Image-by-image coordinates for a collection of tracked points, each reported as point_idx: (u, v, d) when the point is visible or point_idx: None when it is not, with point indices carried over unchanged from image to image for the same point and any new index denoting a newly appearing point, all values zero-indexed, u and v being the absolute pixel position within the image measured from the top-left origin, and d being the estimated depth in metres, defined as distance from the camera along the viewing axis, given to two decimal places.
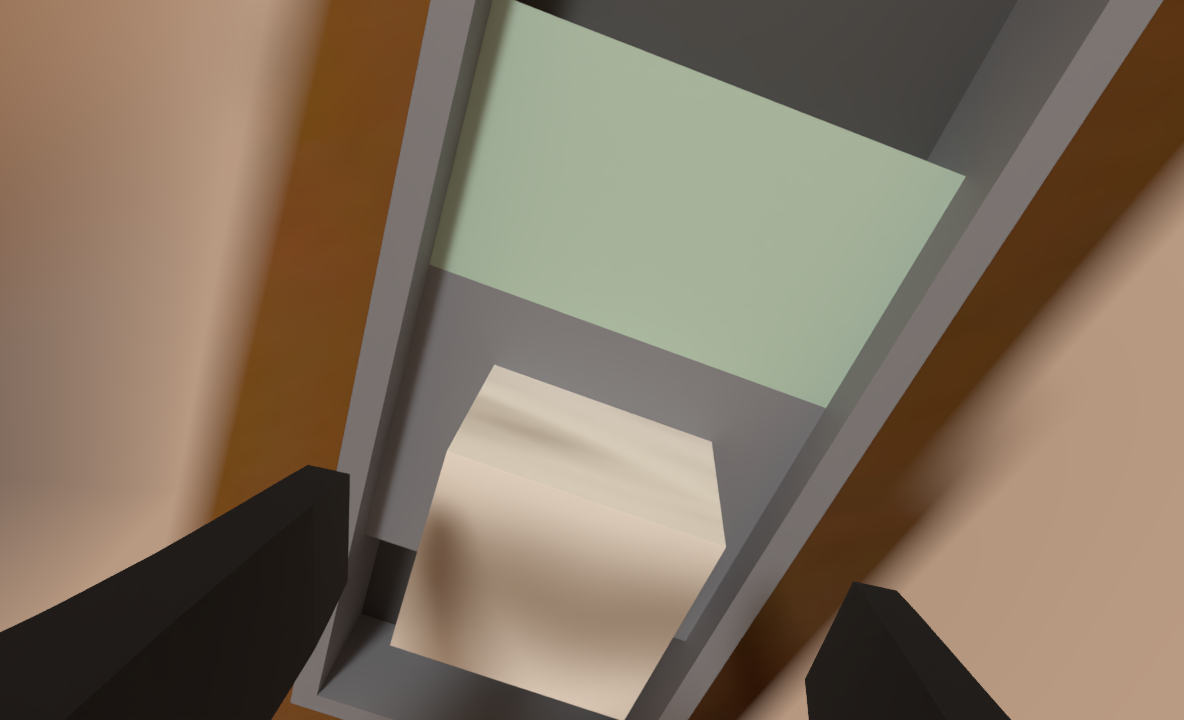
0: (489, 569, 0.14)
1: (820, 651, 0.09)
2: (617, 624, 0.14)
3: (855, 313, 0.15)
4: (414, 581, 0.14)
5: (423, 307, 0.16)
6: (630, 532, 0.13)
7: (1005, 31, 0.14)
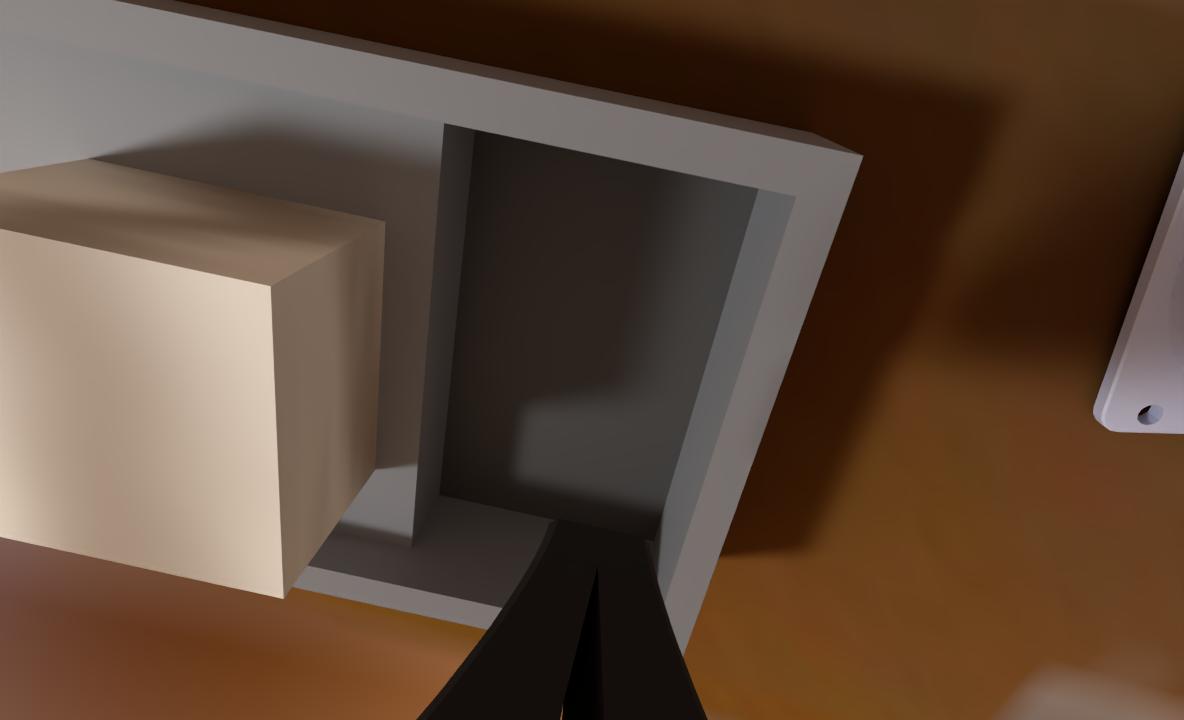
0: (87, 488, 0.11)
1: None
2: (75, 323, 0.09)
3: None
4: (160, 566, 0.11)
5: None
6: None
7: None
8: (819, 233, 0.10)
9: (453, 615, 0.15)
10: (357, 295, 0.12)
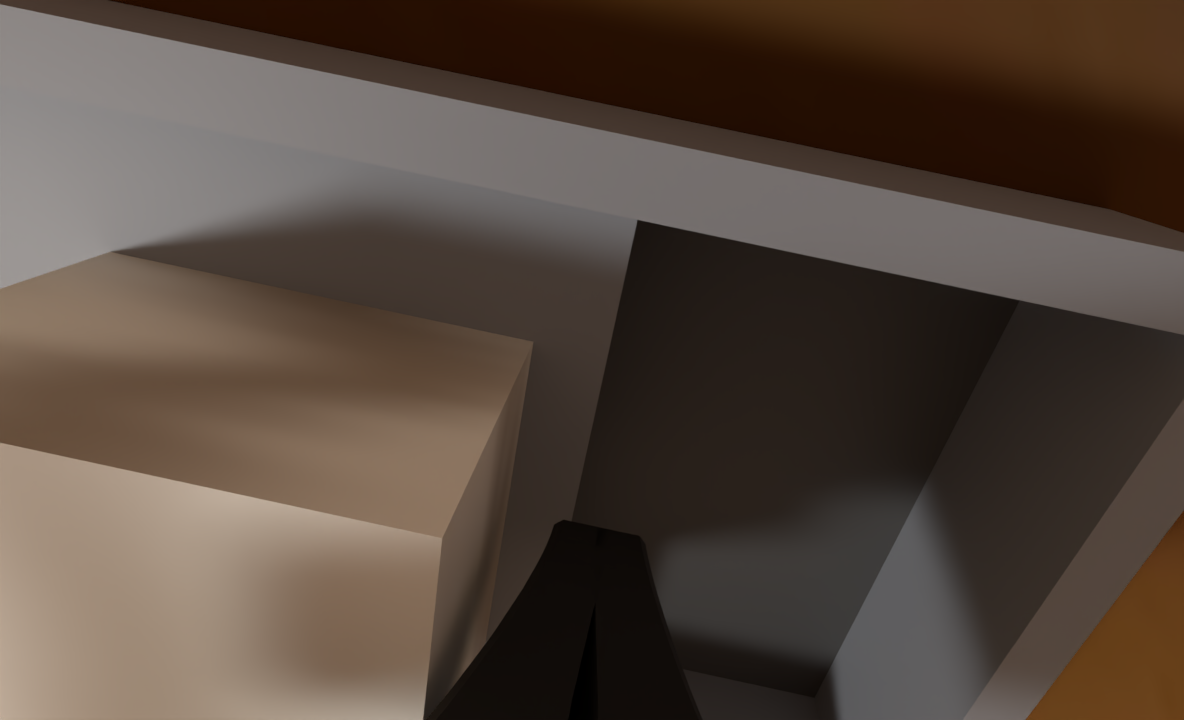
0: None
1: None
2: (103, 574, 0.06)
3: None
4: None
5: None
6: None
7: None
8: None
9: None
10: (503, 457, 0.08)
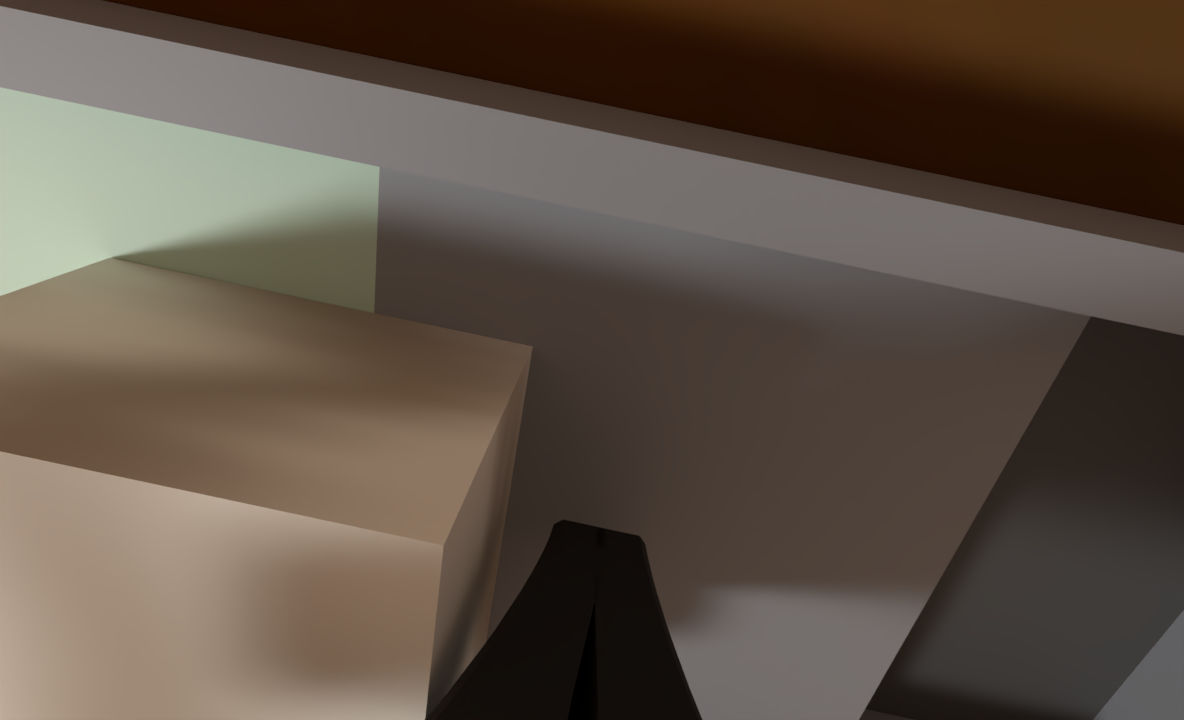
0: None
1: None
2: (105, 581, 0.06)
3: (187, 151, 0.08)
4: None
5: None
6: None
7: None
8: None
9: None
10: (503, 462, 0.08)
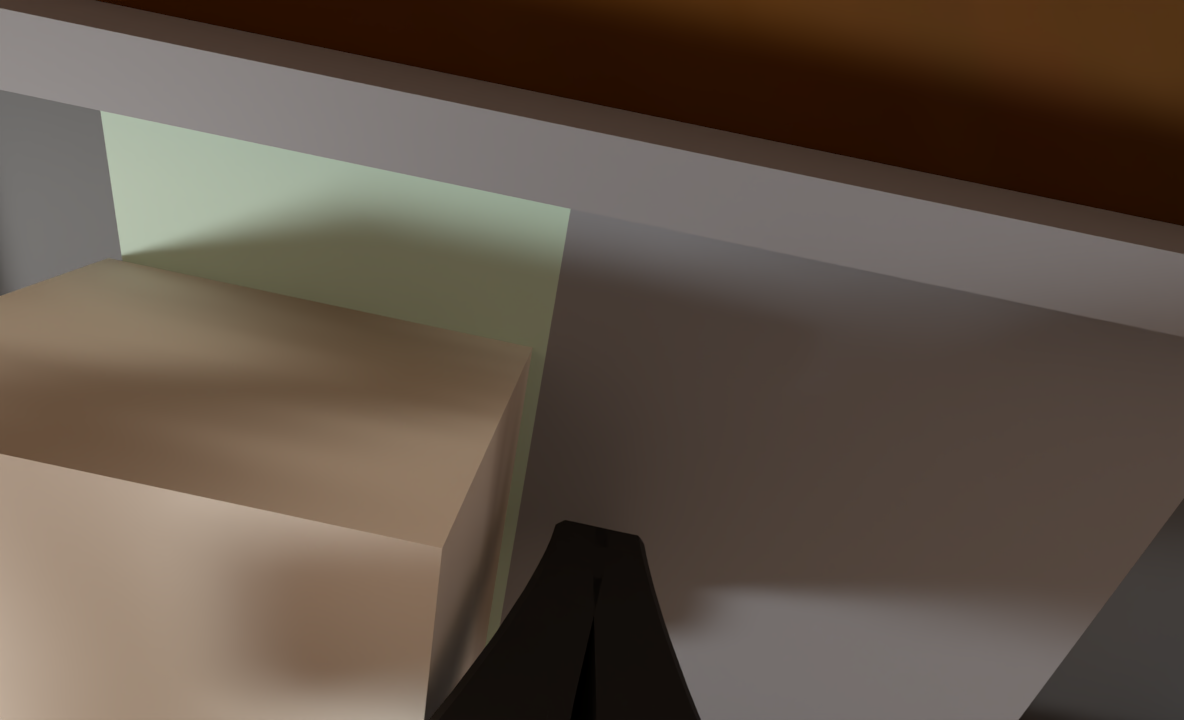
0: None
1: None
2: (103, 583, 0.06)
3: (373, 192, 0.08)
4: None
5: None
6: None
7: None
8: None
9: None
10: (503, 463, 0.08)
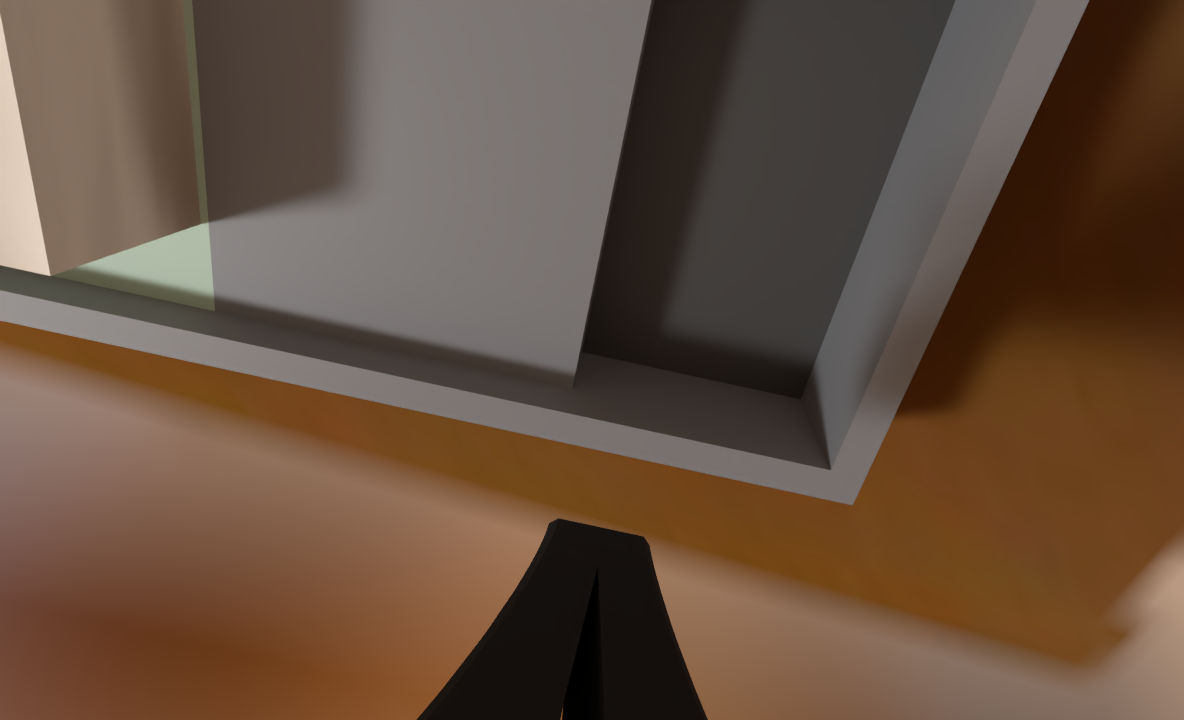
0: None
1: None
2: None
3: None
4: None
5: (260, 317, 0.15)
6: None
7: None
8: None
9: (624, 447, 0.15)
10: None
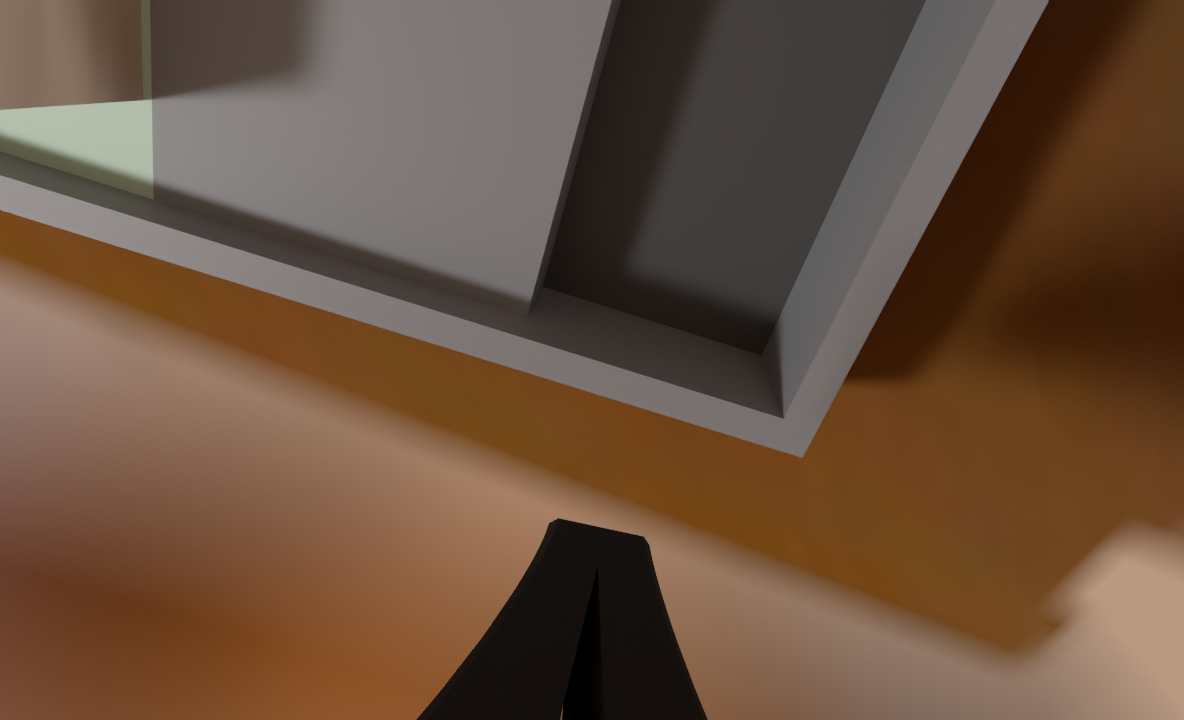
0: None
1: None
2: None
3: None
4: None
5: (202, 210, 0.15)
6: None
7: None
8: None
9: (574, 378, 0.14)
10: None
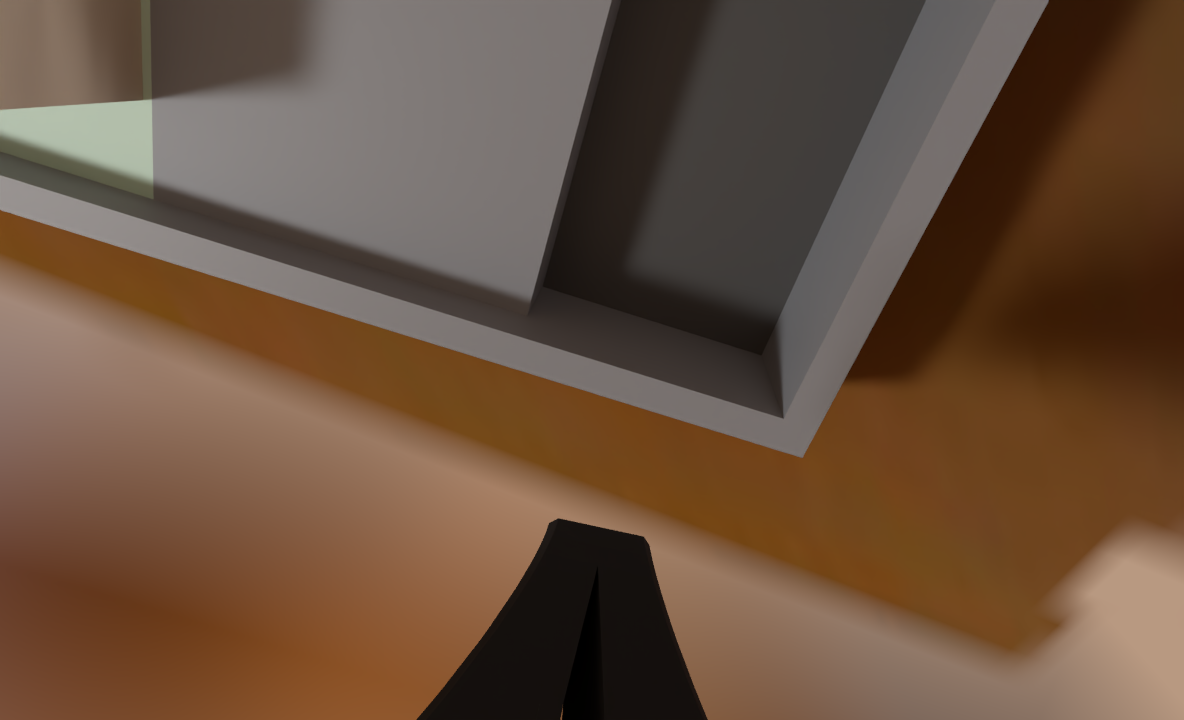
0: None
1: None
2: None
3: None
4: None
5: (202, 210, 0.15)
6: None
7: None
8: None
9: (574, 378, 0.14)
10: None
